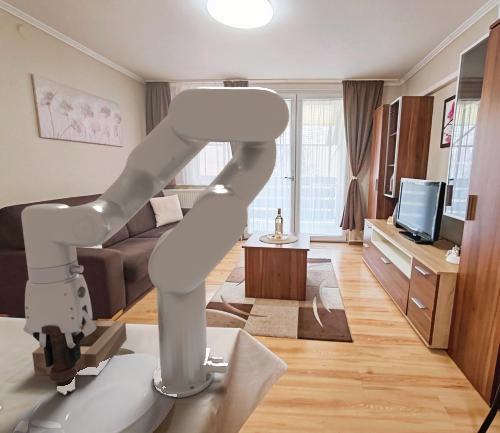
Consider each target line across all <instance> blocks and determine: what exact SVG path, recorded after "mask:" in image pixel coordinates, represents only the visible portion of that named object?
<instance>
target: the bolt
mask: <svg viewBox="0 0 500 433" xmlns="http://www.w3.org/2000/svg"><path fill="white" fill-rule="evenodd" d="M41 330H42V334H50V339H51V343H52V352H53V360H54V365H53V366H52V368H51V370H50V374H49V380H50V381H52V382H54V383H55V386H56V387H57V386H65V385H68V384H70V383H71V382H72V380H73V379H74V377H75V378H76V376H75V375H76V374H77V372H78V368H79V363H78V361H77V362H76V363H75V364H74V365H73V366H72V367H71V368H68V367H67V364H66V355H65V349H66V348H67V347H68V345H67V341H66V337H65V333H61V331H60V328H59V327H58V326H43V327H41ZM56 387H55V388H56Z"/></svg>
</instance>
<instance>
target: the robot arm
mask: <svg viewBox="0 0 500 433" xmlns="http://www.w3.org/2000/svg"><path fill="white" fill-rule="evenodd" d="M289 121H290V111H289V107H288V104H287V103H286V101H285V99H284V98H283V96H281V95H280V94H279V93H278V92H276V91H274V90H272V89H268V88H263V87H216V86H215V87H213V86H212V87H210V86H207V87H204V86H203V87H201V86H200V87H191V88H186V89H183V90H181V91H179V92H178V93H177V94H175V95H174V97H173V98H172V99H171V101H170V103H169V106H168V110H167V115H166V116H165V117H164V118H163V119H162V120H161V121H160V122H159V124H157V125H156V126H155V127H154V128H153V129H152V130H150V132H149V133H148V134H147V135H146V136H145V137H144V138H143V139H142V140H141V141H140V142H139V143H138V144H137V145H136V146H135V147H134V148H133V149H132V150H131V152H130V153H129V155H127V156H128V157H127V159H126V161H125V162H126V163H125V166H124V168H123V171H122V172H121V174H120V175H119V176H118V177H117V179H115V181H114V182H113V183H112V184H111V185H110V186H109V187H108V188H107V189H106V190H105V191H104V192H103V193H102V194H101V195H100V196H99V197H98V198H97V199H96V200H94V201H91V202H88V203H84V204H80V205H76V206H69V205H67V204H63V203H41V204H33V205H29V206H25V207H24V208H23V210H22V211H21V214H20V215H21V224H22V225H21V226H22V234H23V240H24V248H25V251H24V252H25V259H26V265H27V274H28V275H27V276H28V280H27V281H26V284H25V293H24V313H25V314H24V315H25V325H24V327H23V331H24V332H25V333H27V334H28V335H31V336H33V338H34V339H36V341H37V342H38V343H39V345H38V346H39V347H42V348H44V355H45V362H46V367H51V366H52V365H53V364H54V360H53V352H52V343H51V339H50V334H42V330H41V327H43V326H58V327H59V328H60V331H61V333H65V337H66V341H67V345H68V347H67V348H66V349H65V355H66V364H67V367H68V368H71V367H72V366H73V365H74V364H75V363H76V362H77V361H78V360H79V359H80V357H81V349H80V347H81V344H80V341H81V340H82V339H83V338H84V337H86V336H87V335H89V334H91V333H93V332H94V331H95V330H96V326H95V324H94V323H93V321H94V320H93V309H92V303H91V298H90V294H89V289H88V285H87V283H86V279H85V277H84V275H83V274H82V273H83V272H84V270H85V269H84V266H83V265H79V261H78V255H77V247H79V248H81V247H82V248H93V247H98V246H100V245H103V244H104V243H106V242H107V241H108V240H109V239H111V238H112V237H113V236H114V235H115V234H117V233H118V232H119V231H121V230H122V229H123V228H124V227H125V226H126V224H127V223H129V222H130V220H132V219H133V218H134V217H135V215H136V214H138V213H139V211H140V210H141V209H143V208H144V207H145V205H146V204H148V203H149V201H150V200H151V199H153V197H155V196H156V195H157V194H159V193H160V192H162V190H163V189H165V187H167V185H169V183H171V181H173V179H174V178H175V177H177V175H179V173H180V172H181V171H182V170H183V169H184V168H185V167H186V166H188V164H189V163H190V162H191V161H192V160H193V159H194V158H196V156H198V154H200V153H201V151H202V150H203V149H204V148H206V146H208V144H210V143H236V150H235V152H234V153H233V156H232V157H231V158H230V160H229V161H228V162H227V164H225V166H224V167H223V169H222V170H221V171H220V172H219V173H218V175H217V176H215V177H214V179H213V180H212V181H211V182H210V184H209V185H208V186H207V187H205V189H203V191H201V192H200V193H199V194H198V195H197V196H196V198H195V200H194V201H193V202H192V203H193V204H192V206H191V208H190V209H189V210H188V211H187V212H186V213H185V215H184V216H182V219H181V220H180V221H179V222H178V223H177V224H176V225H175V227H173V228H171V229H168V230H167V231H165V232H164V233H163V234H161V236H160V237H159V239H157V242H156V244H155V246H154V248H153V250H152V252H151V255H150V257H149V259H148V264H147V266H148V267H147V269H148V270H147V272H148V275H149V279H150V280H151V281H150V282H151V283H152V284H153V286H154V287H155V288H156V298H157V299H156V303H157V305H156V306H157V322H158V323H157V326H158V327H157V328H158V345H159V346H158V347H159V364H160V368H159V367H158V368H159V369H161V378H162V382H161V381H160V382H159V384H158V382H157V383H156V382H155V381H154V384H155V386H156V387H157V388H159V389H161V391H162V392H163V393H166V394H177V398H178V399H179V398H186V397H190V396H194V395H195V394H198V393H200V392H202V391H204V390H205V389H206V388H207V387H208V386H209V385H210V384H211V382H213V380H214V377H215V374H216V373H217V374H228V370H229V369H228V368H229V363H228V362H224V356H213V355H212V354H211V348H210V347H209V348H208V347H207V346H208V345H207V344H208V342H207V311H206V310H207V307H206V306H207V301H206V300H207V297H206V295H207V294H206V292H207V291H206V279H207V278H208V276H210V274H211V273H212V272H213V271H214V270H215V269H216V267H217V266H218V265H219V264H220V263H221V261H222V260H224V258H225V257H226V255H228V254H229V253H230V251H231V250H232V249H233V248H234V247H235V245H236V244H237V243H238V242H239V240H240V239H241V237H242V235H243V234H244V232H245V230H246V227H247V224H248V218H249V217H248V214H249V213H248V210H247V209H248V207H249V206H250V205H251V204H252V203H253V201H254V200H255V199H256V198H257V196H258V195H259V194H260V192H261V191H262V190H263V189H264V188H265V186H266V185H267V183H269V181H270V179H271V177H272V175H273V172H274V170H275V166H276V164H277V163H276V162H277V142H276V140H277V139H278V138H280V137H281V136H282V134H284V132H285V131H286V129H287V127H288V125H289ZM92 320H93V321H92ZM81 324H82V326H83V327H84V329H83V330H81ZM73 333H74V335H73ZM74 336H75V337H74ZM156 368H157V367H156ZM158 368H157V369H158ZM154 371H155V370H154ZM155 372H156V371H155ZM155 372H153V373H155ZM157 372H158V371H157ZM157 372H156V373H157ZM159 372H160V371H159ZM159 372H158V373H159ZM154 384H153V385H154ZM163 386H165V387H166V388H164V389H163V388H162V387H163ZM177 398H176V399H177Z"/></svg>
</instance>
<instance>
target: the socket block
mask: <svg viewBox="0 0 500 433" xmlns="http://www.w3.org/2000/svg"><path fill="white" fill-rule="evenodd" d="M92 321H93V323H94V324H95V326H96V330H95V331H94V332H93V333H91V334H89V335H87V336H86V337H84V338H83V339H82V340H81V341H80V345H91V346H80V349H81V357H80V359H79V360H78V363H79V368H78V372H79V371H80V370H83V369H85V368H87V367H96V368H97V367H98V366H99V363H100V362H102V361H105V360H107V359H109V358H111V359H112V358H113V357H114V356H116V353H117V352H118V351H119V349H121V347H122V346H123V344H124V343H125V342H126V341H127V326H126V325H127V324H126V321H125V320H94V319H92ZM83 329H84V327H83V326H82V324H81V330H83ZM73 335H74V333H73ZM74 337H75V336H74ZM31 355H32V360H33V361H32V362H33V369H34V375H38V376H39V375H42V376H48V375H49V374H50V370H51V368H52V366H53V365H54V364H53V365H52V366H51V367H46V362H45V355H44V348H42V347H40V346H39V347H38V348H36V349H35V350H34V351H32V354H31ZM49 376H50V375H49Z"/></svg>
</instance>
